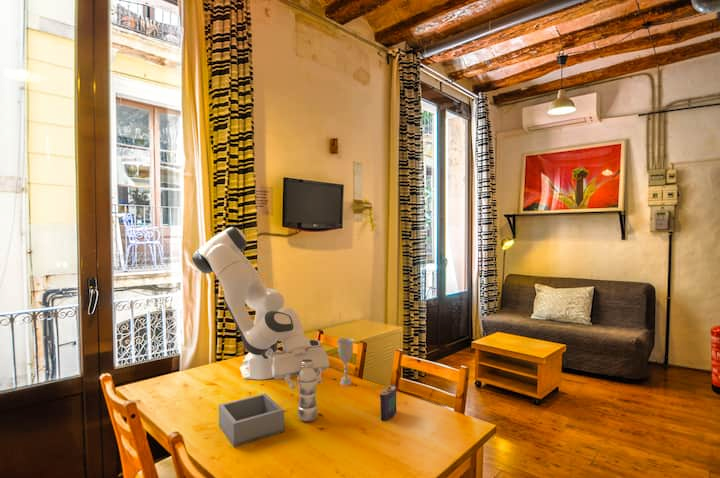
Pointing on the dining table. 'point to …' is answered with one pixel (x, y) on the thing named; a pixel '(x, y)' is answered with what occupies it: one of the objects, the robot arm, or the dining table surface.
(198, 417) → the dining table surface
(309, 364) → the plastic bottle
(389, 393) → the hip flask
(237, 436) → the bin
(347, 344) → the chalice
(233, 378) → the dining table surface
